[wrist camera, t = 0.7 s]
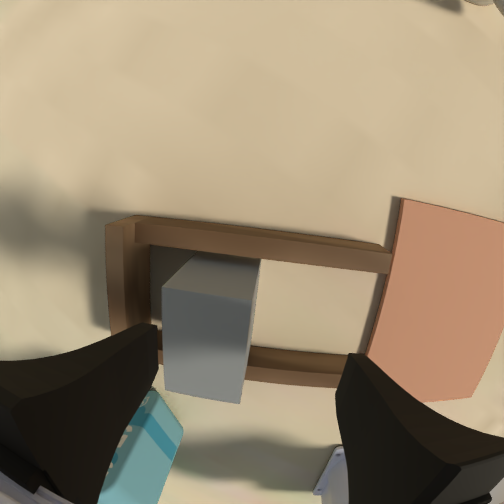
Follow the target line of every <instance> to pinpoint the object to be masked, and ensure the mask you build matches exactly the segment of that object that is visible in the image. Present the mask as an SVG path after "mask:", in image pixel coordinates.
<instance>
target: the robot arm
mask: <svg viewBox="0 0 504 504" xmlns="http://www.w3.org/2000/svg"><path fill="white" fill-rule="evenodd" d="M158 369H159V366H158V340H157V325H153V324H148V323H144V322H142V323H139V324H137V325H134V326H132V327H130V328H128V329H125V330H123V331H121V332H119V333H117V334H114V335H112V336H110V337H108V338H106V339H103V340H101V341H98V342H96V343H93V344H91V345H88V346H85V347H83V348H80V349H77V350H74V351H71V352H67V353H63V354H59V355H55V356H49V357H44V358H38V359H31V360H19V361H0V504H97V503H98V500H99V496H100V492H101V489H102V486H103V483H104V480H105V477H106V474H107V472H108V469H109V466H110V464H111V461H112V458H113V456H114V453H115V451H116V449H117V446H118V444H119V442H120V439H121V437H122V435H123V433H124V431H125V429H126V428H127V426H128V424H129V423H130V421H131V419H132V418H133V416H134V414H135V413H136V411H137V410H138V408H139V406H140V405H141V403H142V401H143V400H144V398H145V396H146V395H147V393H148V391H149V390H150V388H151V386H152V383H153V381H154V379H155V376H156V374H157V371H158ZM335 401H336V415H337V420H338V425H339V430H340V435H341V439H342V444H343V446H339V447H337V448H335V449H334V451H333V453H332V455H331V458H330V460H329V462H328V464H327V466H326V468H325V470H324V471H323V473H322V475H321V477H320V479H319V481H318V483H317V485H316V487H315V488H314V490H313V495H321V498H322V504H488V503H490V502H491V500H492V497H491V495H490V493H489V492H490V491H491V490H492V489H493V488H494V487H495V486H496V485H497V484H498V483H499V482H500V480H502V478H503V477H504V438H502V437H498V436H494V435H490V434H486V433H482V432H479V431H477V430H474V429H471V428H468V427H466V426H463V425H461V424H459V423H456V422H454V421H452V420H450V419H448V418H446V417H444V416H442V415H441V414H439V413H437V412H435V411H434V410H432V409H431V408H429V407H427V406H426V405H424V404H423V403H421V402H420V401H418V400H417V399H416V398H414V397H413V396H412V395H411V394H409V393H408V392H407V391H405V390H404V389H403V388H402V387H401V386H399V385H398V384H397V383H396V382H395V381H394V380H393V379H391V378H390V377H389V376H388V375H387V374H386V373H385V372H384V371H383V370H382V369H381V368H380V367H378V366H377V365H376V364H375V363H374V362H373V361H372V360H371V359H370V358H368V357H367V356H366V355H365V354H356V353H349V354H348V358H347V361H346V364H345V367H344V370H343V373H342V376H341V379H340V382H339V385H338V387H337V390H336V393H335ZM500 504H504V502H502V503H500Z"/></svg>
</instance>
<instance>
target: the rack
mask: <svg viewBox="0 0 504 504" xmlns="http://www.w3.org/2000/svg"><path fill="white" fill-rule="evenodd" d="M150 244H151V245H158V246H166V247H174V248H182V249H189V250H197V251H205V252H213V253H221V254H228V255H236V256H244V257H252V258H260V259H268V260H276V261H284V262H292V263H300V264H308V265H316V266H325V267H333V268H341V269H349V270H357V271H366V272H374V273H382V274H388V273H389V268H390V264H391V259H392V254H391V253H390V252H389V251H387V250H386V249H385V248H383V247H382V246H381V245H379V244H372V243H365V242H358V241H351V240H344V239H337V238H329V237H322V236H314V235H307V234H299V233H291V232H283V231H275V230H267V229H259V228H251V227H242V226H234V225H225V224H216V223H207V222H198V221H189V220H180V219H170V218H160V217H150V216H140V215H134V216H131V217H128V218H125V219H122V220H119V221H116V222H113V223H110V224H107V225H105V250H106V278H107V294H108V307H109V318H110V328H111V336H112V335H114V334H117V333H119V332H121V331H123V330H125V329H128V328H130V327H132V326H134V325H137V324H139V323H142V322H144V323H148V324H151V306H150ZM157 340H158V364H161V365H164V364H163V341H162V331H160V330H157ZM347 358H348V355H335V354H322V353H310V352H299V351H289V350H280V349H272V348H263V347H256V346H250V350H249V356H248V361H247V367H246V373H245V378H244V380H251V381H259V382H267V383H276V384H286V385H297V386H310V387H325V388H337V387H338V385H339V382H340V379H341V376H342V373H343V370H344V367H345V364H346V361H347Z"/></svg>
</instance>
